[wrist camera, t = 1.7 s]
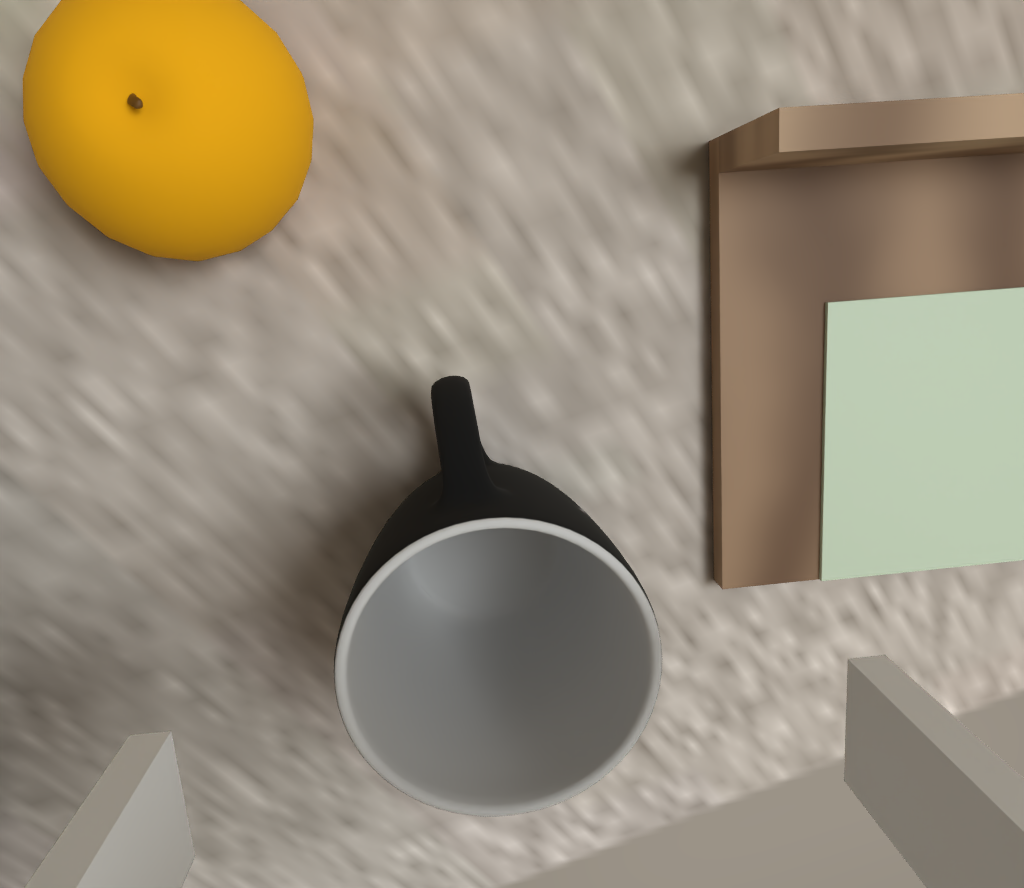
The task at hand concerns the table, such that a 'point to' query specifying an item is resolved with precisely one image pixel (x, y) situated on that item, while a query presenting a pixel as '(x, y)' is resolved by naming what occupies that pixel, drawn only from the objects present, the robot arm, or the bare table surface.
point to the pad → (922, 433)
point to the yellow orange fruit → (168, 122)
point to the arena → (834, 282)
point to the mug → (493, 637)
